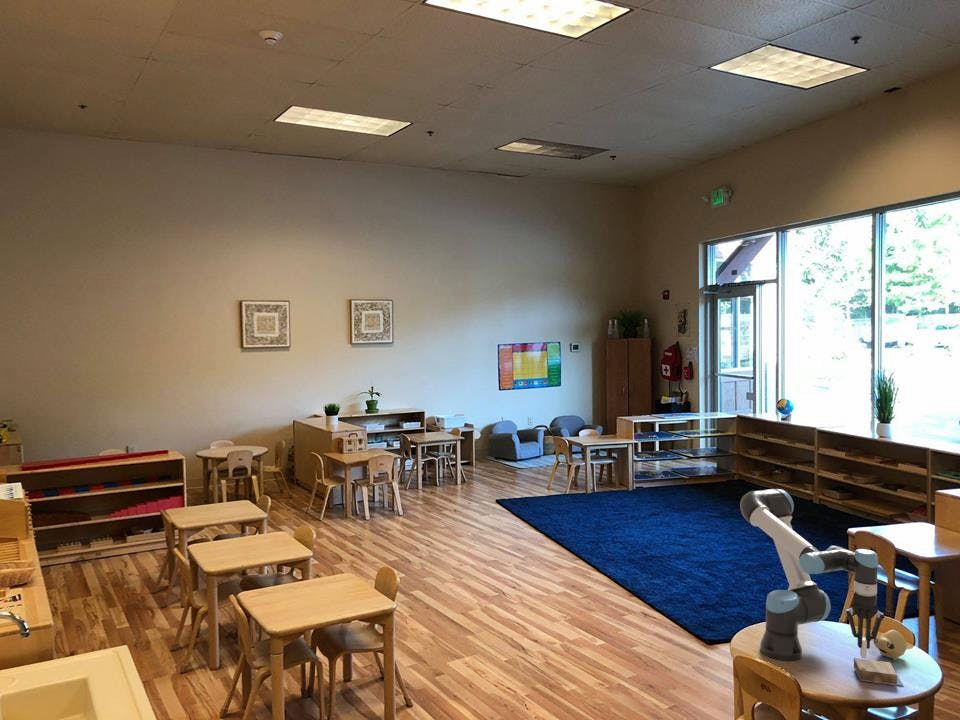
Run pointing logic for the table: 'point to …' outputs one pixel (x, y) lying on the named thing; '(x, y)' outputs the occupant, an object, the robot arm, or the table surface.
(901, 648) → the beige rounded lump
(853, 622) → the robot arm
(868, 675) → the brown flat block
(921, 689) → the table surface
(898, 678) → the mat
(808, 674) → the table surface
